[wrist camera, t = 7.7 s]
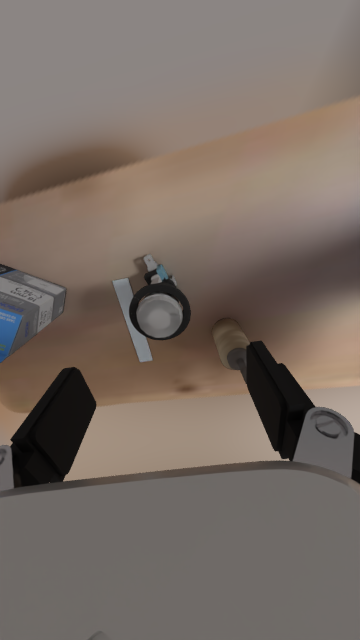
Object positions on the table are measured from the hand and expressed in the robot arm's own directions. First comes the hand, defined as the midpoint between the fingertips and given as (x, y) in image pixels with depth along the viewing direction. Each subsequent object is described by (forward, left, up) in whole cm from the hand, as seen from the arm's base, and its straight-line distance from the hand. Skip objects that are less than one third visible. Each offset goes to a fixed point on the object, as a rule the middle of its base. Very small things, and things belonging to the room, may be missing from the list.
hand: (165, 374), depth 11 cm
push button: (+1, -1, -16) cm, 16 cm away
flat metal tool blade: (+6, +5, -16) cm, 18 cm away
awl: (-6, +8, -16) cm, 19 cm away
